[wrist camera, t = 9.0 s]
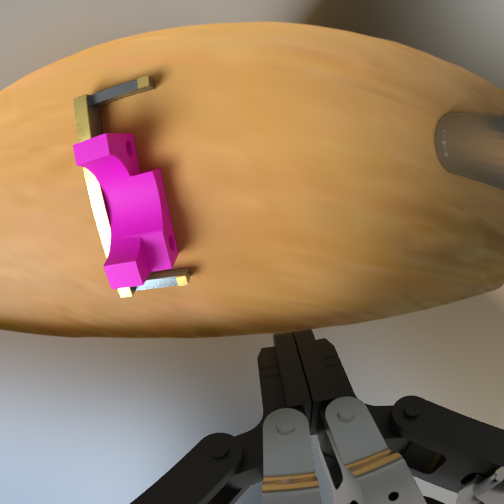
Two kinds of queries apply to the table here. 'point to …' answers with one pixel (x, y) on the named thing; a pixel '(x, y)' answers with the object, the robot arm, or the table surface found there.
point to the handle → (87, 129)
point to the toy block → (130, 209)
